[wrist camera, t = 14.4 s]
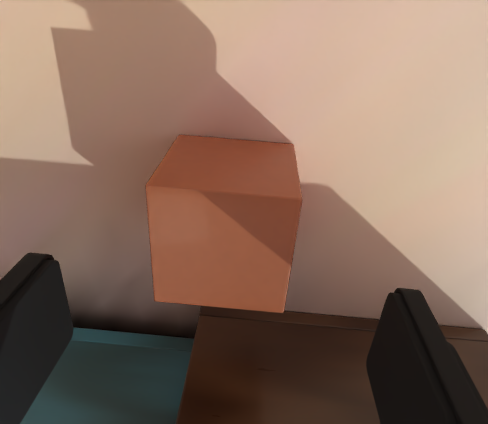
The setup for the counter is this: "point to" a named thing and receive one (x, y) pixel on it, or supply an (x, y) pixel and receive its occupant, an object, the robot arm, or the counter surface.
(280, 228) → the block
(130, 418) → the drawer
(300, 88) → the counter surface
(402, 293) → the robot arm
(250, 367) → the cabinet
